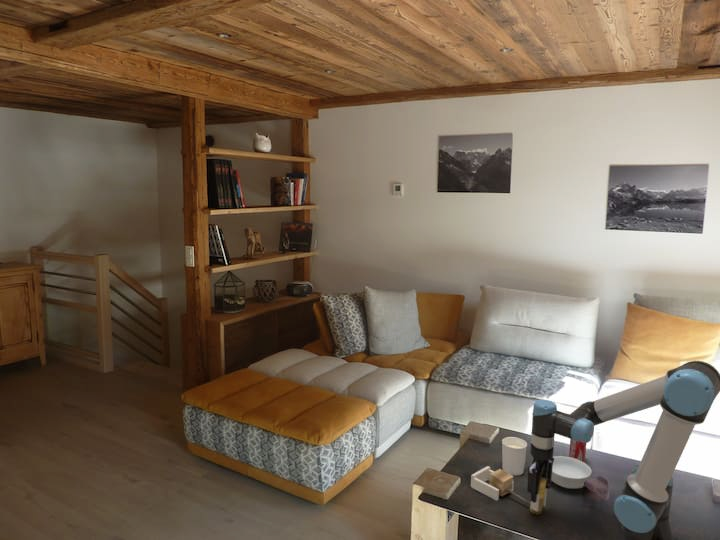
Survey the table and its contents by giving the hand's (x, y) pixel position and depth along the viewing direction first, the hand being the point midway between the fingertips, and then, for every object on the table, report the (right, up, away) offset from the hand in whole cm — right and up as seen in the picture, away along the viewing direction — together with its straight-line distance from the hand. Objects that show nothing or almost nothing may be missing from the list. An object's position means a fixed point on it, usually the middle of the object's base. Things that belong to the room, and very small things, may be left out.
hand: (538, 506), depth 190 cm
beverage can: (+28, +3, +36) cm, 46 cm away
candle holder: (-1, +2, +28) cm, 29 cm away
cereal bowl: (+18, 0, +19) cm, 26 cm away
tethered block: (-6, 0, +7) cm, 9 cm away
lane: (-12, 0, +15) cm, 19 cm away
